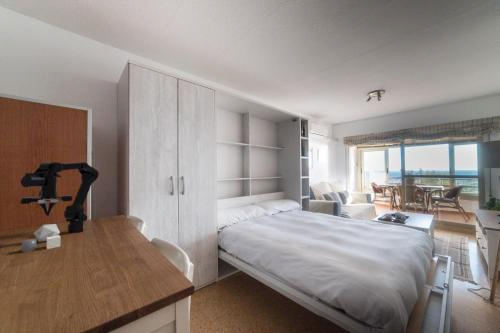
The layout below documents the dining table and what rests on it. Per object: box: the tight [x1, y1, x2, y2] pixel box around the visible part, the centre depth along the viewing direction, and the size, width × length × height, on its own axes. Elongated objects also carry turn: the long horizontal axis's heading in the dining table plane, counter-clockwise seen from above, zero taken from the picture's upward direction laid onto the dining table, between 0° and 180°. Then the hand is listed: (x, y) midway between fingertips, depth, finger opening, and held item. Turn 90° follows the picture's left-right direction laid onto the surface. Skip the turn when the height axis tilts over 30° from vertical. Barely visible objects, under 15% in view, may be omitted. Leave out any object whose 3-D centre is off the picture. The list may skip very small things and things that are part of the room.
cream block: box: [46, 234, 62, 250], centre depth 96 cm, size 4×4×4 cm
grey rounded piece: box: [21, 238, 38, 253], centre depth 91 cm, size 4×4×4 cm
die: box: [33, 223, 61, 243], centre depth 105 cm, size 8×9×10 cm
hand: (47, 215), depth 105 cm, fingers closed
